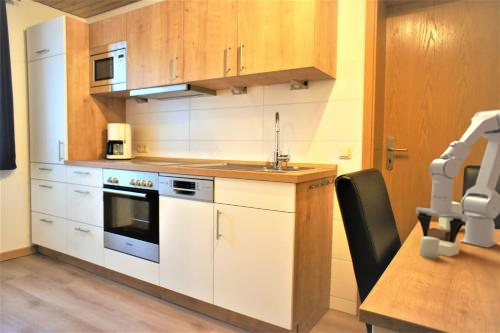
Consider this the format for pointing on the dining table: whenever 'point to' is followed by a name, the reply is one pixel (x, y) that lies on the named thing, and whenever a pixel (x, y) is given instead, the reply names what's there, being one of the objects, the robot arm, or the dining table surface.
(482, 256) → the dining table surface
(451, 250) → the cream block
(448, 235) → the walnut cube
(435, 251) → the cream smooth round part
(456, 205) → the small box
